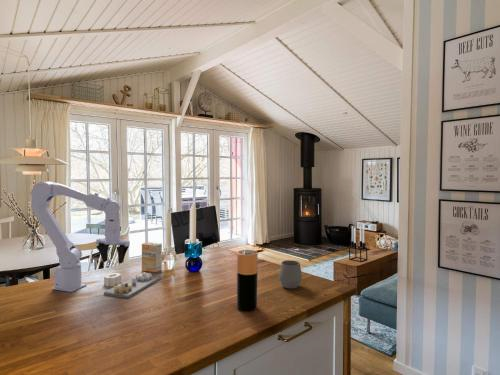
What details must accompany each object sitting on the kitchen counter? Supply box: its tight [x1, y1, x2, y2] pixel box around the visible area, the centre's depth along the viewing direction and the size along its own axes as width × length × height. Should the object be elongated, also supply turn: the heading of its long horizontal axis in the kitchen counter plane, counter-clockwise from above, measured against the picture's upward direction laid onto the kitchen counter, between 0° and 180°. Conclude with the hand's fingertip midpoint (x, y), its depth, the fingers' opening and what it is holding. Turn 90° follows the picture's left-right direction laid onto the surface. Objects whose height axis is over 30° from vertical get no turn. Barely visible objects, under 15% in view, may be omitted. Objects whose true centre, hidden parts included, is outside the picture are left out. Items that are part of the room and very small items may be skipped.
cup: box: [278, 259, 303, 290], centre depth 134 cm, size 10×9×10 cm
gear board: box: [103, 271, 162, 299], centre depth 133 cm, size 11×22×4 cm, turn 163°
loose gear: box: [103, 272, 122, 287], centre depth 136 cm, size 5×7×4 cm
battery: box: [236, 249, 259, 312], centre depth 113 cm, size 7×7×20 cm
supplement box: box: [141, 241, 163, 273], centre depth 153 cm, size 8×5×13 cm, turn 73°
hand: (113, 262), depth 135 cm, fingers open, 7 cm apart
